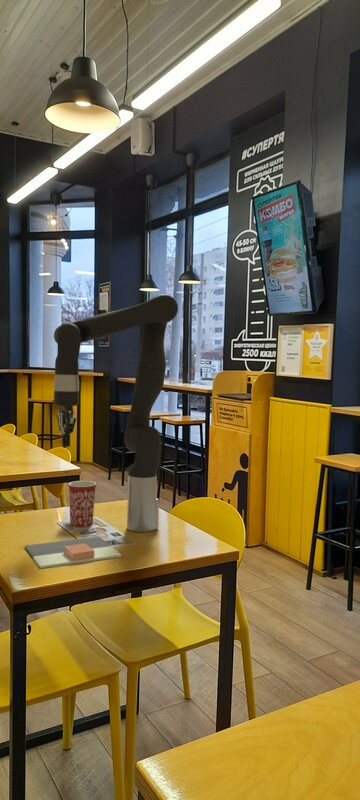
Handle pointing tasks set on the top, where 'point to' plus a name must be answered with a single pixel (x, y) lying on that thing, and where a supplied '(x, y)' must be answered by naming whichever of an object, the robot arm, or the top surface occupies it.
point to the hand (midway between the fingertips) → (65, 446)
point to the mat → (55, 555)
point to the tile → (78, 551)
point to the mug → (81, 503)
